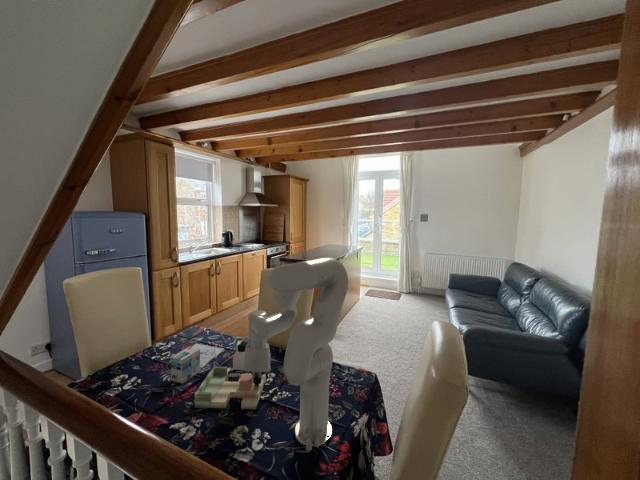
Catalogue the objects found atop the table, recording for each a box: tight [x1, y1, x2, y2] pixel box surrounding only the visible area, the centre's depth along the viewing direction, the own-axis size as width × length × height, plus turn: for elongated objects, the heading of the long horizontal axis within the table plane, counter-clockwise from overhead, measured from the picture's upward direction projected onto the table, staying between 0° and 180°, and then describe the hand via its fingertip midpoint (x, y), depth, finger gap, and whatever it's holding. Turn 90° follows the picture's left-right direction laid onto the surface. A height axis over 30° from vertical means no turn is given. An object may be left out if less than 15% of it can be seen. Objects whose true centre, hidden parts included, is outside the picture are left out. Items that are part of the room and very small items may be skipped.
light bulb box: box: [170, 346, 201, 384], centre depth 119 cm, size 11×7×11 cm, turn 161°
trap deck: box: [194, 366, 267, 410], centre depth 108 cm, size 18×23×6 cm
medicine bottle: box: [232, 340, 248, 371], centre depth 127 cm, size 7×7×12 cm
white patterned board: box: [168, 343, 225, 370], centre depth 136 cm, size 19×20×2 cm
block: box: [238, 374, 253, 391], centre depth 108 cm, size 4×4×4 cm
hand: (257, 384), depth 109 cm, fingers closed
